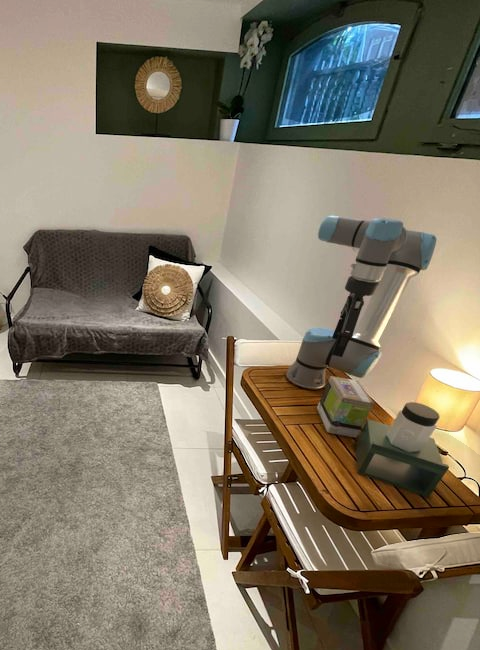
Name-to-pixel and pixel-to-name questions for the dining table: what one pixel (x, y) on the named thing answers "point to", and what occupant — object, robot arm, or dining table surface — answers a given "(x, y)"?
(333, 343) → the robot arm
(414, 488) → the shelf
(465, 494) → the dining table surface
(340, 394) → the tea box
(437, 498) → the dining table surface
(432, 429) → the jar
